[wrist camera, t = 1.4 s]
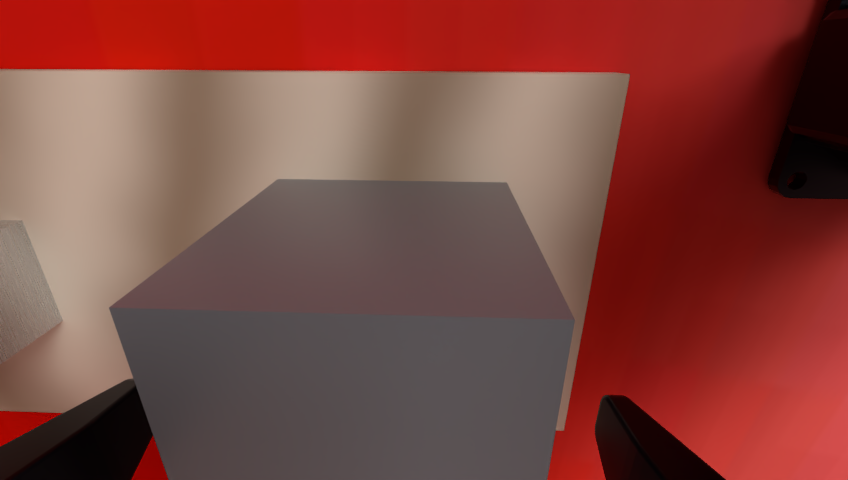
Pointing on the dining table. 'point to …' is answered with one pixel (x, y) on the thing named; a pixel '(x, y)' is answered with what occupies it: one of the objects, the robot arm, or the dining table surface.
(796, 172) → the robot arm
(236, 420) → the gray matte cube
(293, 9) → the dining table surface
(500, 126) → the board
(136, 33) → the dining table surface
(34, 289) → the brushed metal cube
